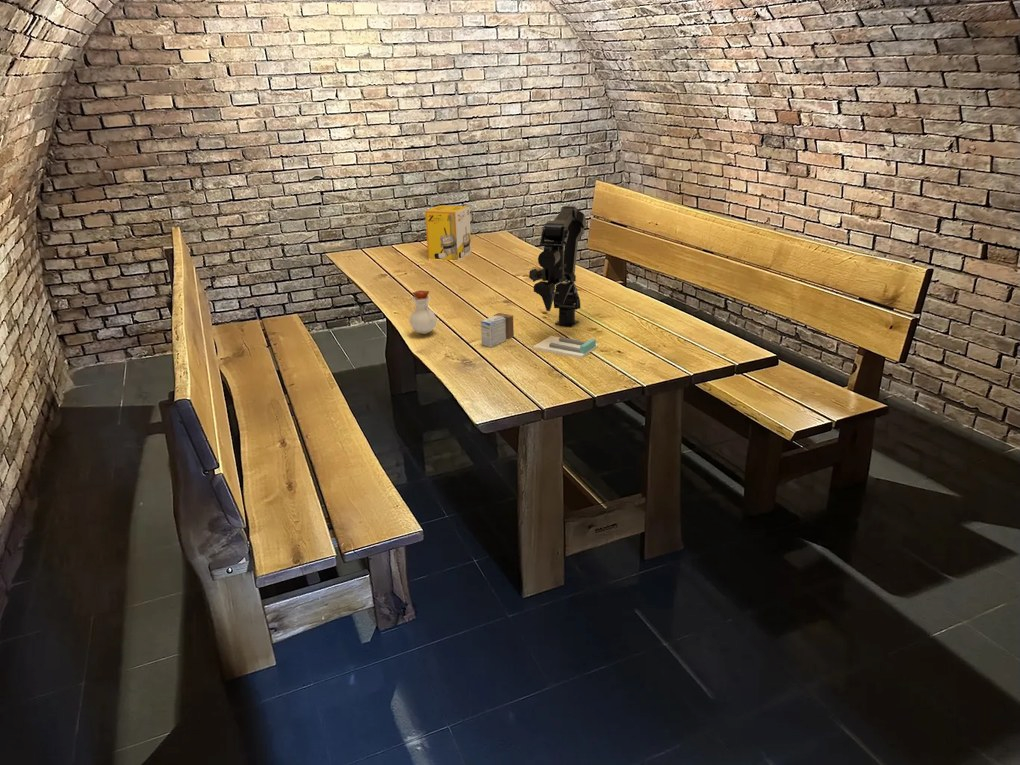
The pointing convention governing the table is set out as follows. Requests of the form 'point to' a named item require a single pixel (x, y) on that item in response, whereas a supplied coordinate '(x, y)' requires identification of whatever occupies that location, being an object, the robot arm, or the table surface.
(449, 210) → the packaging box
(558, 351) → the rail board
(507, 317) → the panel
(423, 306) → the potion bottle
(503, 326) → the medicine box
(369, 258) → the table surface
